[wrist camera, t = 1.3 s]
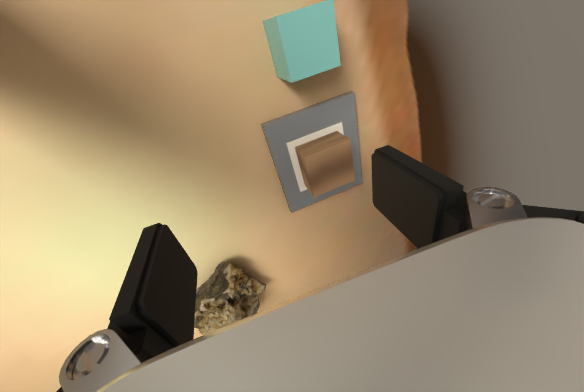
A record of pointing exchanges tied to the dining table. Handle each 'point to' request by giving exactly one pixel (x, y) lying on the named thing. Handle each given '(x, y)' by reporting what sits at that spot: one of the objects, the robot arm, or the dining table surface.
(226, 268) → the mineral specimen
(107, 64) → the dining table surface
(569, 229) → the robot arm
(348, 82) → the dining table surface
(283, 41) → the teal block
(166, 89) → the dining table surface
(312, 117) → the grey square mat
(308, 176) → the walnut block
